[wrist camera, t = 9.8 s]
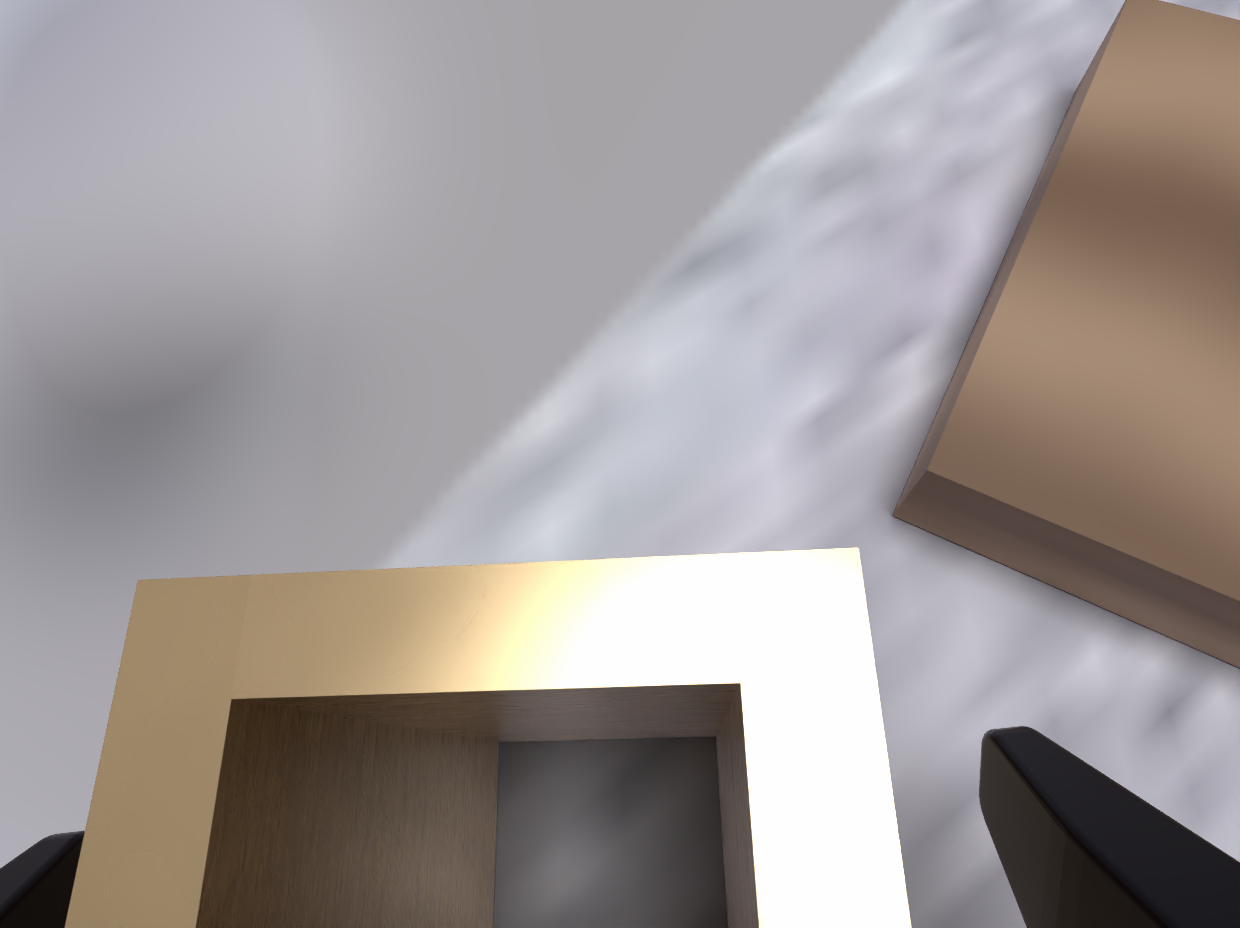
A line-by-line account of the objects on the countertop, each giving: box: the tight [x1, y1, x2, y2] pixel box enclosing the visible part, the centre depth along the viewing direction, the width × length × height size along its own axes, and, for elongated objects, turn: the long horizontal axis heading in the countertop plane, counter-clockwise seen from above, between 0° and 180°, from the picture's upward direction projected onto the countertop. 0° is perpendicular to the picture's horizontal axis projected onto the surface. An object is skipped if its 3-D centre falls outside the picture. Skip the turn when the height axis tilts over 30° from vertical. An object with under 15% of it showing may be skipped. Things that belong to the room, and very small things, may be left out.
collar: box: [65, 548, 911, 928], centre depth 9 cm, size 6×6×9 cm
